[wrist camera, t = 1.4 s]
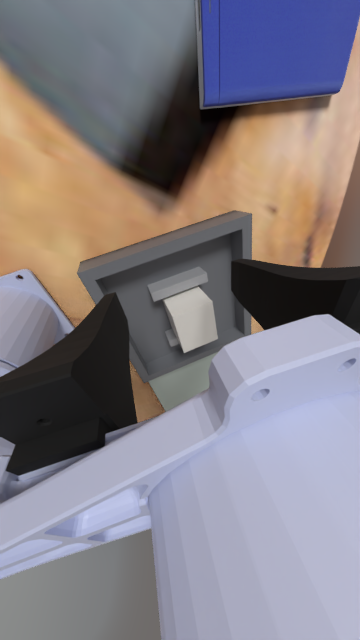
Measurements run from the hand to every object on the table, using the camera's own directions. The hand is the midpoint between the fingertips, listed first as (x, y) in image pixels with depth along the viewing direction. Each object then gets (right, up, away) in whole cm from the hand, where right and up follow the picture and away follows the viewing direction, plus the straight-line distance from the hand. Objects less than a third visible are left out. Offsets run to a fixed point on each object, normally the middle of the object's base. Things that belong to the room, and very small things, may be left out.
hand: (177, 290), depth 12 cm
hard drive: (+7, +20, +2) cm, 21 cm away
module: (0, 0, +11) cm, 11 cm away
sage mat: (+2, -12, +21) cm, 24 cm away
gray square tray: (0, 0, +12) cm, 12 cm away
